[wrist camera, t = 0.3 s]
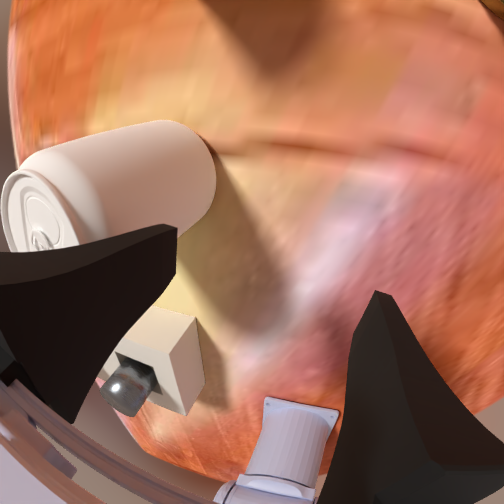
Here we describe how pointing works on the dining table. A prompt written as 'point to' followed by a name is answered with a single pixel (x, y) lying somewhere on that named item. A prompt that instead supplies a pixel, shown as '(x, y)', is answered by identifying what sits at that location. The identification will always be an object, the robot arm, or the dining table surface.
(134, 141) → the beverage can
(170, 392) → the bore block
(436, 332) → the dining table surface
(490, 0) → the olive green tiered piece
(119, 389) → the peg
